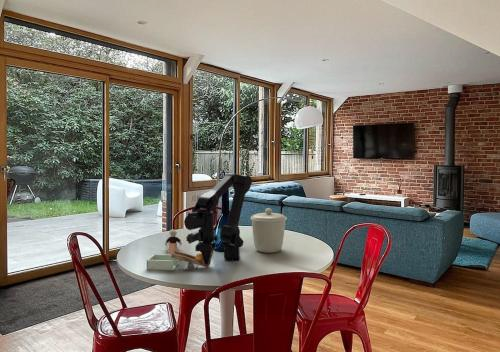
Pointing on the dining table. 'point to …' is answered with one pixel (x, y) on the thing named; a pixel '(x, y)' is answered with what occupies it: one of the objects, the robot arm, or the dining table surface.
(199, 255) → the ball
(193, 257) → the brown wooden ramp
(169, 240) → the grandmother figurine
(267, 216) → the canister
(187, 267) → the fulcrum
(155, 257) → the tray
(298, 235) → the dining table surface
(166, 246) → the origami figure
